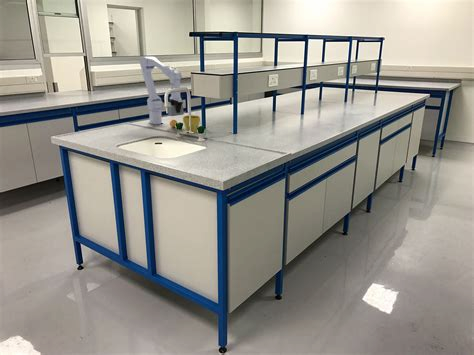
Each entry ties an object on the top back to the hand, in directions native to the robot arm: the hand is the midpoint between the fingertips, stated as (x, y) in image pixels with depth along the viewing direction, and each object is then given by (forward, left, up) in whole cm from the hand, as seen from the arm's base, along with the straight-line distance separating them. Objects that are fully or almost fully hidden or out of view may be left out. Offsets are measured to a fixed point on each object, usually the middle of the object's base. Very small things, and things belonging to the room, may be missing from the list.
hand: (176, 111), depth 245 cm
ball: (0, -2, -7) cm, 8 cm away
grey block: (0, 0, -2) cm, 2 cm away
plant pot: (+20, +2, -10) cm, 22 cm away
